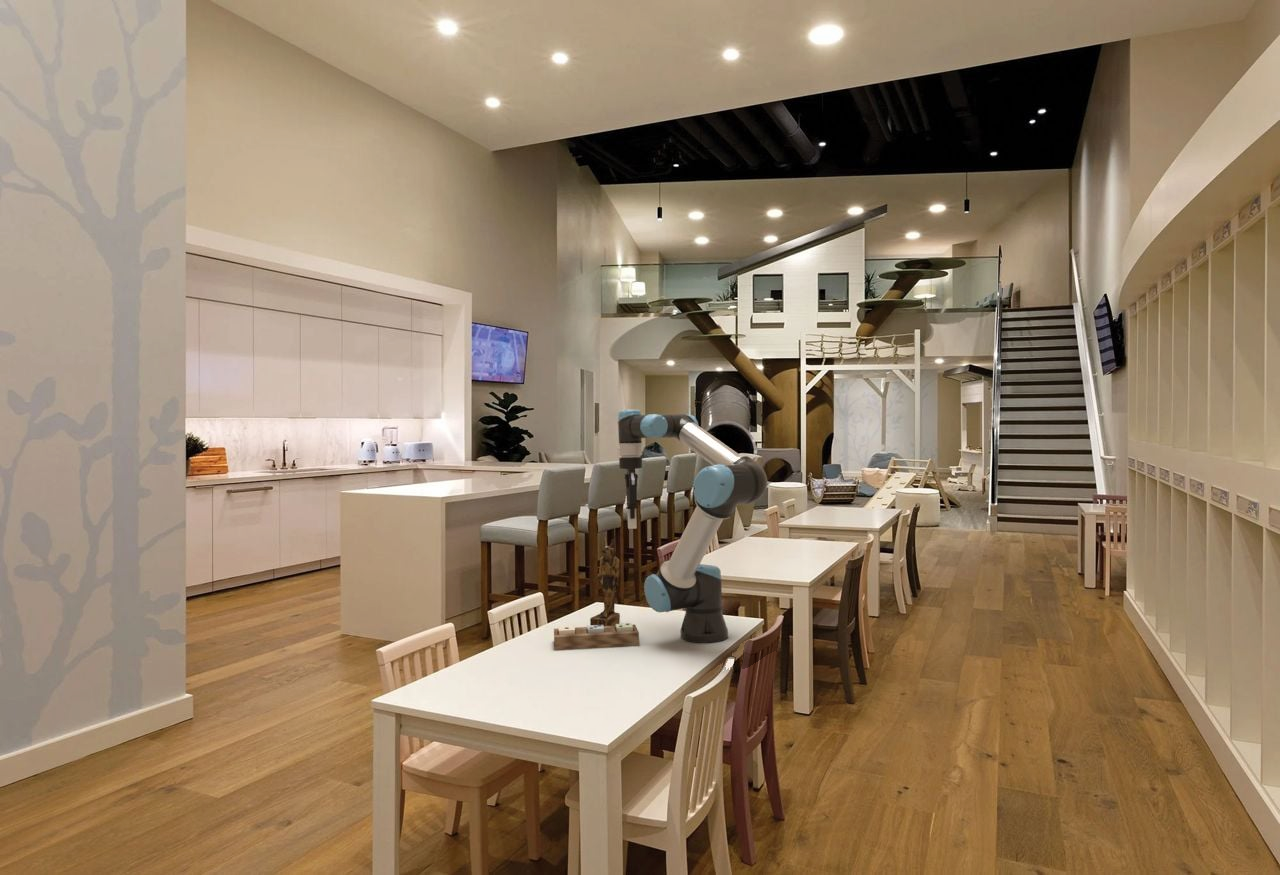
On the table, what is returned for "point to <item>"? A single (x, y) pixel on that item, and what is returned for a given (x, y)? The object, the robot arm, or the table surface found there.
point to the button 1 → (567, 630)
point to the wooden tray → (596, 638)
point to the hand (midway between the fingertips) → (632, 528)
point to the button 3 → (595, 629)
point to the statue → (608, 586)
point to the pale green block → (624, 627)
